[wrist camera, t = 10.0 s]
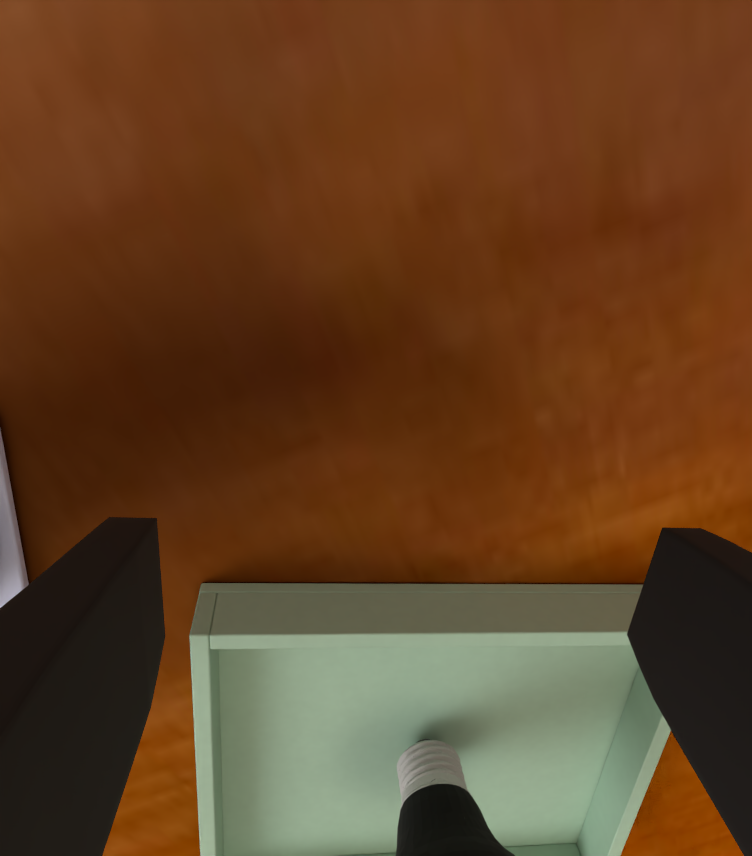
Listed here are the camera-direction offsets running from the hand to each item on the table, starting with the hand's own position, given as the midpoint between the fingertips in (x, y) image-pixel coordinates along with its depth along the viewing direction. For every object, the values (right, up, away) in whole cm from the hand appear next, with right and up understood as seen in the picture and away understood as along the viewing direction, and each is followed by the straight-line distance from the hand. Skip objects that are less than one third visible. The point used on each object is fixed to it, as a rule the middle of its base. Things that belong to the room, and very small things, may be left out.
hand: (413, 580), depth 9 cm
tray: (+1, -10, +17) cm, 20 cm away
